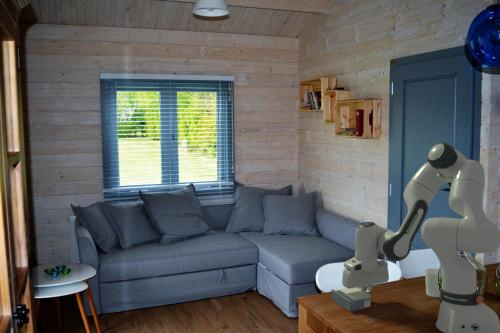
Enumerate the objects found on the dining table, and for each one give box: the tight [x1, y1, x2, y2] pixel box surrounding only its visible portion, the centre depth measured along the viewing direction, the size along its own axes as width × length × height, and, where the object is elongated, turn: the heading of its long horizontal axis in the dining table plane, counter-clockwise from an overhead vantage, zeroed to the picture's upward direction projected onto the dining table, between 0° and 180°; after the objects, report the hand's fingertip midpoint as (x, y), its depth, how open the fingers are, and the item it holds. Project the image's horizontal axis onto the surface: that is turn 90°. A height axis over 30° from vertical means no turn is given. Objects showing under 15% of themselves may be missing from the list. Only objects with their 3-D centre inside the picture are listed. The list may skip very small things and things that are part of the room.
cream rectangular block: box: [338, 287, 372, 309], centre depth 197 cm, size 8×10×5 cm
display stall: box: [330, 289, 365, 313], centre depth 197 cm, size 6×14×4 cm, turn 21°
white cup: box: [424, 268, 440, 299], centre depth 205 cm, size 8×8×10 cm
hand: (365, 295), depth 200 cm, fingers closed
